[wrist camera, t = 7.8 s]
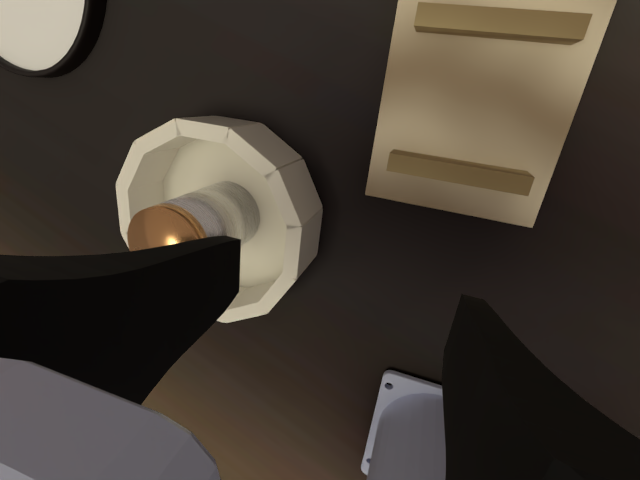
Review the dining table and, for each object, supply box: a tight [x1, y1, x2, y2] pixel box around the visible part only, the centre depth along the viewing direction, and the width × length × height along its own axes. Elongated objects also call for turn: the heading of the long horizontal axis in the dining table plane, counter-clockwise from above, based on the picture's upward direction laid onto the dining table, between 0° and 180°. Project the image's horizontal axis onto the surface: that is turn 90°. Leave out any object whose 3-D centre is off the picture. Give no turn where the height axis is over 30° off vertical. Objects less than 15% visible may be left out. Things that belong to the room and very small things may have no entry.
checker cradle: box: [365, 0, 617, 228], centre depth 16 cm, size 10×8×2 cm
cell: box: [127, 181, 260, 251], centre depth 20 cm, size 4×4×6 cm
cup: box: [116, 116, 323, 323], centre depth 21 cm, size 11×11×4 cm
